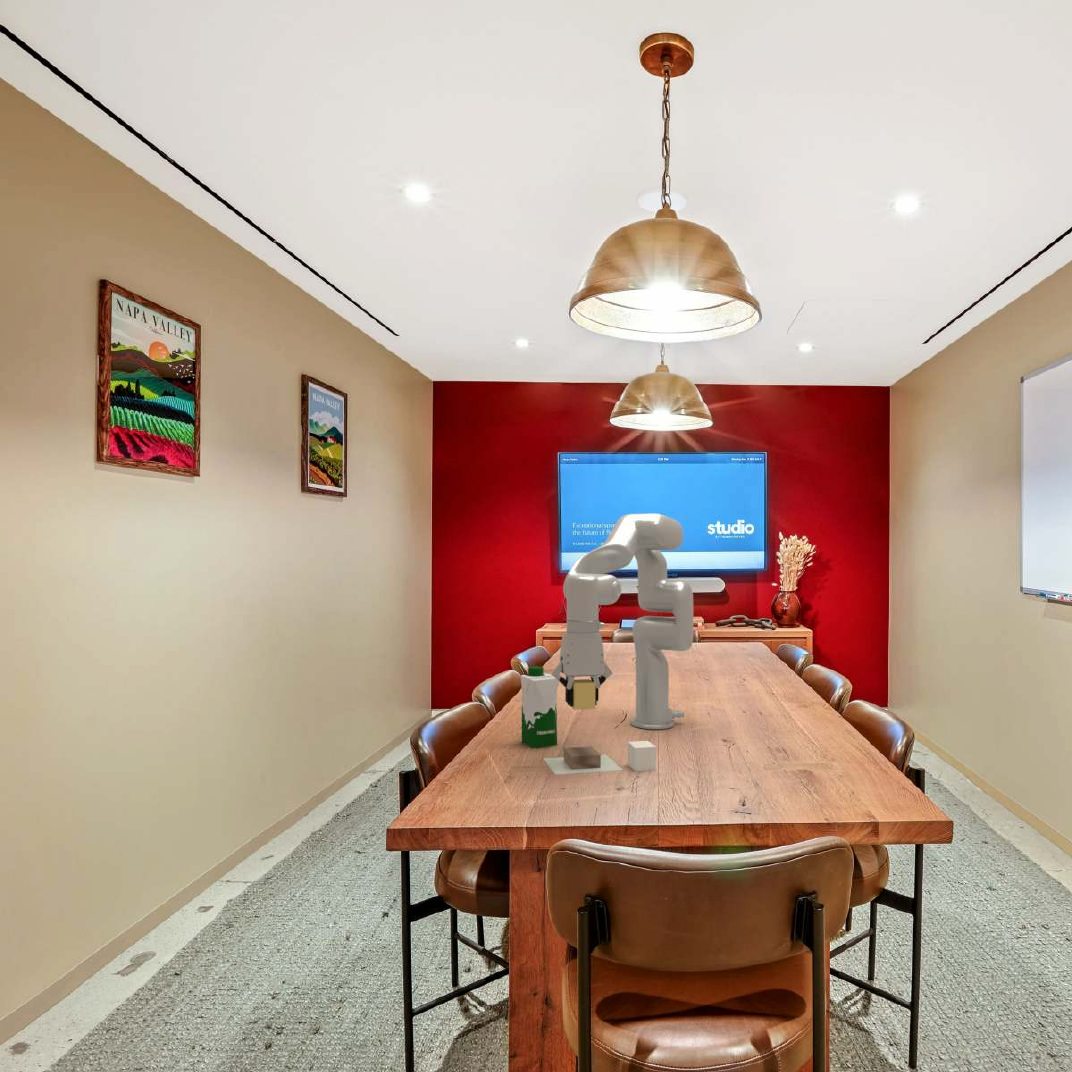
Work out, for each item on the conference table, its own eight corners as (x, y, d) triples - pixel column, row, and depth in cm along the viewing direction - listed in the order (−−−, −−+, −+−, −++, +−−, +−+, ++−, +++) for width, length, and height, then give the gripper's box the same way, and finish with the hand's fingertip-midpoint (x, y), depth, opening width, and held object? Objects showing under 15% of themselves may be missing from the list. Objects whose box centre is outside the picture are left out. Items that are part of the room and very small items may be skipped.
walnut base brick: (591, 758, 167) (591, 746, 167) (600, 767, 160) (600, 754, 160) (563, 760, 165) (563, 747, 165) (571, 769, 158) (571, 756, 158)
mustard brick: (589, 704, 166) (589, 679, 166) (595, 708, 161) (595, 683, 161) (568, 704, 164) (569, 679, 165) (574, 709, 160) (574, 683, 160)
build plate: (606, 756, 170) (606, 754, 170) (622, 772, 158) (622, 769, 158) (543, 760, 167) (543, 758, 167) (555, 777, 155) (555, 774, 155)
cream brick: (647, 766, 163) (647, 740, 164) (655, 772, 159) (655, 746, 159) (627, 767, 162) (627, 741, 162) (635, 774, 157) (635, 748, 158)
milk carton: (546, 738, 186) (546, 664, 186) (562, 747, 178) (562, 670, 178) (516, 743, 182) (517, 667, 182) (532, 752, 174) (532, 672, 174)
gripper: (611, 625, 168) (611, 700, 168) (543, 626, 165) (543, 702, 164) (621, 628, 161) (621, 706, 161) (551, 630, 157) (550, 709, 157)
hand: (581, 704), depth 163 cm, fingers closed on mustard brick, 5 cm apart
